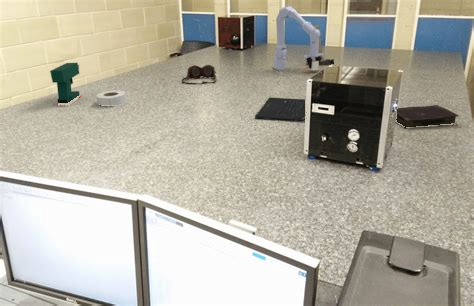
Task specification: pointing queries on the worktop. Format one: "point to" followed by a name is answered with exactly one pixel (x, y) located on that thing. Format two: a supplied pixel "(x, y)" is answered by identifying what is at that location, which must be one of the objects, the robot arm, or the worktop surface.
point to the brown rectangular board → (308, 70)
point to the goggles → (200, 73)
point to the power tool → (65, 81)
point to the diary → (425, 116)
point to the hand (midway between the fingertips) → (313, 67)
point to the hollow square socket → (314, 65)
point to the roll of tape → (111, 97)
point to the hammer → (323, 61)
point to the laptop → (282, 109)
